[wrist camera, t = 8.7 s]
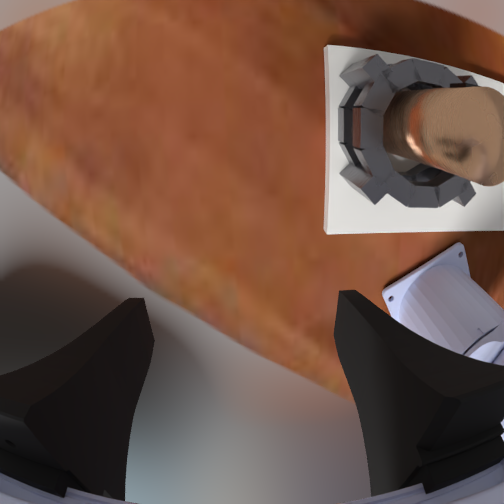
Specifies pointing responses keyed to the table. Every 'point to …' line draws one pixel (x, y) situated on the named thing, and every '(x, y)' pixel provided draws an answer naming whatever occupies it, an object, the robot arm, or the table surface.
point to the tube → (449, 130)
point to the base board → (389, 209)
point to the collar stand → (371, 134)
